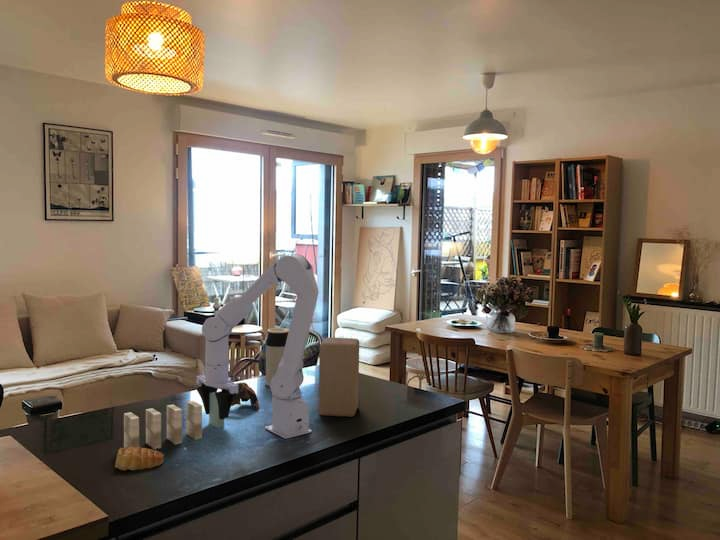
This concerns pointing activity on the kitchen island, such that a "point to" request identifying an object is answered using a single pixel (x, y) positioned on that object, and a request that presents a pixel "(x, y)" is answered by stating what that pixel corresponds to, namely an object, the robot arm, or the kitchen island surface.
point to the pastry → (138, 458)
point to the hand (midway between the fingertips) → (216, 415)
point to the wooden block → (338, 377)
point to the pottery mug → (245, 395)
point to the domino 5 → (214, 412)
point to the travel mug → (274, 350)
